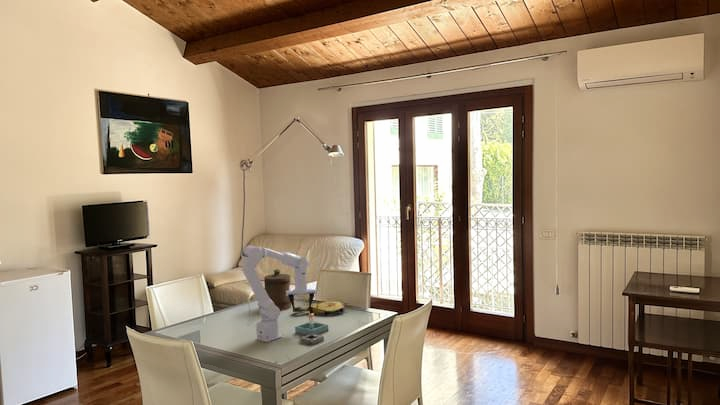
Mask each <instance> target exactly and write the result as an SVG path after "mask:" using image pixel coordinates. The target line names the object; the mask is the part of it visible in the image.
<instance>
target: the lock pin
mask: <svg viewBox="0 0 720 405" xmlns="http://www.w3.org/2000/svg"><path fill="white" fill-rule="evenodd" d="M308 322H309V329H310V330H313V329H315V328H314V322H315V314H313V313H310V312H309V313H308Z"/></svg>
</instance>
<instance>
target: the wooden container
mask: <svg viewBox="0 0 720 405" xmlns="http://www.w3.org/2000/svg"><path fill="white" fill-rule="evenodd" d="M263 280H264V281H263V282H264V288H265V290H266V292H267V294H268V296H269V298H270V299H271V300H272V301H273V302H274V304H275V306H277V307H278V308H279V310H280V311H285V310H288V309H291V307H292V304H291V302H290V300H289V298H288V296H286V291H292V290H291V275H290V274H287V273H281V270H280V269H276V268H275V270H273V273H272V274H268V275H266V276H265V275H264V279H263Z"/></svg>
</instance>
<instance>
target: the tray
mask: <svg viewBox="0 0 720 405" xmlns="http://www.w3.org/2000/svg"><path fill="white" fill-rule="evenodd" d="M314 328H315V329H313V330H310V329H309V321H308V322H305V323H302V324H299V325H296V326H295V327H294V330H295V334H298V335H303V336H306V335H309V334H316V335H321V334H323V333H326V332H329V324H328V323H323V322H317V321H314Z"/></svg>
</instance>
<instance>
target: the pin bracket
mask: <svg viewBox="0 0 720 405" xmlns="http://www.w3.org/2000/svg"><path fill="white" fill-rule="evenodd" d="M324 341H325V336H324V335H321V334H319V335H316V334H309V335H303V336H301V337H299V343H302V344H304V345H305V344H306V345H308V346H309V345H310V346H314V345H317V344H319V343H321V342H324Z"/></svg>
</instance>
